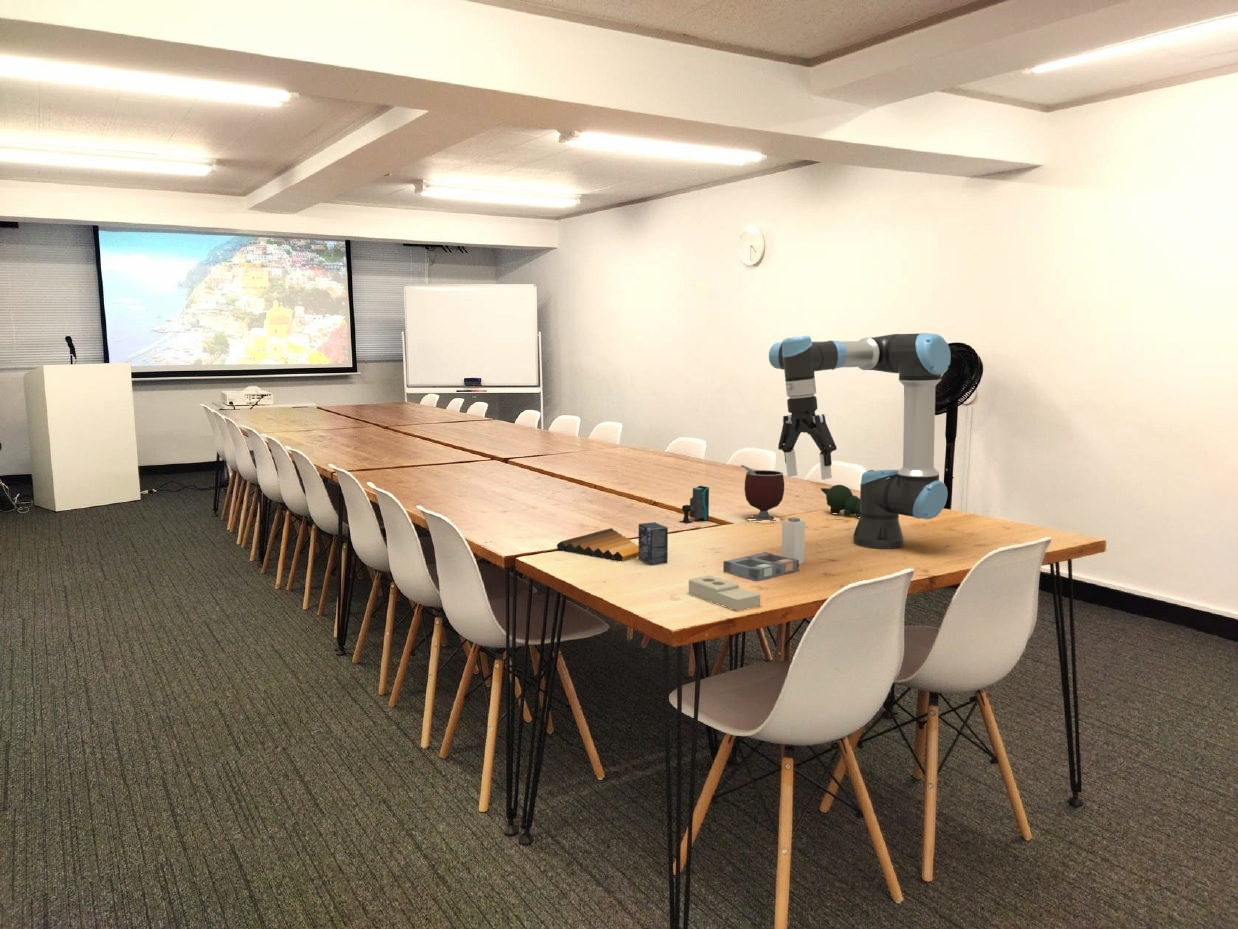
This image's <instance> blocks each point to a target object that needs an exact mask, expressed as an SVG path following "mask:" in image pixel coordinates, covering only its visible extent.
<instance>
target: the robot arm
mask: <svg viewBox="0 0 1238 929" xmlns="http://www.w3.org/2000/svg"><path fill="white" fill-rule="evenodd" d="M951 356H952V355H951V349H950V346H949V343H948V342H947V341H946V340H945V339H944V337H942V336H941V335H940V334H937V333H928V332H922V333H893V334H892V333H891V334H885V335H881V336H880V335H879V336H873V337H864V338H861V339H859V340H855V341H854V340H851V341H850V340H848V341H847V340H846V341H841V340H827V341H812V337H811V336H810V335H801V336H793V337H787V338H784V339H783V340H782V342H779V341H778V342H775V343H774V344H772V345H771V347H770V348H769V350H768V361H769V363H770V365H771V366H772V367H773V368H775V369H778V370H783V371H784V379H785V380H784V381H785V390H786V391H785V392H786V396H787V397H788V399H787V400H786V404H787V405H786V406H787V412H788V413H789V414H788V415H783V416H782V423H783V424H782V428H781V433H780V438H779V441H778V442H779V443H778V446H777V448H778V450H779V451H780V450H781V451H782V452H783V453H784V462H785V465H786V474H787V475H786V476H787V477H788V478H789V477H790V478H791V477H796V476H798V470H797V460H796V459H797V458H796V451H795V449H794V448H795V445H796V444H797V441H798V439H799V437H800V435H801V433H803V434H805V433H806V434H807V435H809V436H810V437H811V439H812V440H813V442H814V443H815V444H816V446H817V447H818V450H819V451H820V452H819V455H818V456H819V464H820V465H819V466H820V476H821V477H820V478H821V481H824V480H829V479H833V477H832V476H833V475H832V452H834V451H837V448H838V447H837V445H836V443H835V441H834V438H833V436H832V433H831V432H830V429H829V427H828V425H827V421H826V415H825V414H824V413H822V414H816V411H817V410H818V400H817V399H818V398H817V396H816V393H817V386H816V378H815V375H816V374H815V372H820V371H828V370H831V371H834V370H836V369H840V368H841V369H842V368H843V369H844V368H859V369H860V370H863V371H875V372H883V373H889V374H890V373H891V374H898V381H899V383H900V384H902V385H903V387H904V389H903V394H904V395H903V438H902V439H903V444H902V445H903V446H902V449H903V450H902V452H903V453H902V467H901V468H900V469H881V470H874V471H870V470H867V471H868V472H867V471H865V472H863V473H862V475H861V480H860V491H859V492H860V493H859V494H860V495H859V496H860V497H859V499H860V518H859V519H858V522H857V524H856V527H855V529H854V533H853V534H852V542H853V544H855V545H857V544H858V545H857V546H860V545H861V547H865V548H871V547H872V548H874V549H896V548H897V547H898V548H901V547H903V546H904V541H905V539H904V535H903V532H902V531H903V530H902V528H901V524H900V521H899V517H900V516H899V515H901V516H905V517H911V518H912V517H913V518H914V519H924V520H932V519H934V518H936V517H937V516H939V514H941V512H942V511H943V509H944V508H945V507H946V503H947V500H948V494H949V493H948V488H947V486H946V484H945V483H944V482H943V481H941V480H940V472H939V471H938V470H937V469H936V468H935V463H934V462H935V430H936V428H935V427H936V426H935V425H936V424H935V421H936V418H935V417H936V386H937V384H939V383H940V382H941V381H942V375H943V374H945V373H946V372H947V371H948V369H949V366H950V365H951Z"/></svg>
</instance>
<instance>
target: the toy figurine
mask: <svg viewBox="0 0 1238 929" xmlns="http://www.w3.org/2000/svg"><path fill="white" fill-rule="evenodd" d="M868 471H875V470H873V469H870V470H867V471H866V472H868ZM820 491H821V492H823V494H825V499H826V500H825V501H826V504H827V505H826V506H829V508H830V510H829V511H830V513H831V514H832V513H838V514H840V512H841V511H843V515H844V516H846V517H850V516H851V515H855V518H856V517H860V497H859V496H857V495H853V492H852V490H851V489H850V488H849V487H848V486H847V485H846V486H845V485H844V484H835V485H833V486H831V487H829V488H826V487H822V488H820Z"/></svg>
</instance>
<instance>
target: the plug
mask: <svg viewBox="0 0 1238 929" xmlns="http://www.w3.org/2000/svg"><path fill="white" fill-rule="evenodd" d="M781 522H782V524H781V526H782V527H781V555H780V556H784V557H788V558H792V559H797V560H799V565H801V564H804V563H805V544H806V543H805V542H806V541H805V540H806V521H805V520H801V518H799V517H788V518H787V519H785V520H781Z"/></svg>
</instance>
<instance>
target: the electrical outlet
mask: <svg viewBox="0 0 1238 929" xmlns="http://www.w3.org/2000/svg"><path fill="white" fill-rule="evenodd" d="M739 586H740V585H739V584H738V583H735V582H732V581H729V580H726V579H722V578H720V577H717V576H714V575H704V576H698V577H693V578H690V579H689V580H688V594H689V595H691V594H692V595H691V596H694V595H695V596H694V597H696V596H697V598H699V597H701V598H700V599H702V598H703V599H702V600H705V601H707V600H709V601H708V602H710V601H712V602H711V603H713V602H714V603H713V604H716V603H718V604H720V605H719V606H721V605H724V606H726V607H729V608H732V609H734V610H733V611H735V610H736V611H735V612H737V611H738V612H740V611H739V610H742V611H744V610H743V609H746V610H748V609H747V608H751V609H755V608H758V606H759V607H761V594H759V593H756V592H753V591H750V590H747V589H744V588H741V587H739ZM718 604H717V605H718ZM724 606H723V607H724ZM726 607H725V608H726ZM754 607H755V608H754ZM729 608H728V609H729ZM732 609H731V610H732Z"/></svg>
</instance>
